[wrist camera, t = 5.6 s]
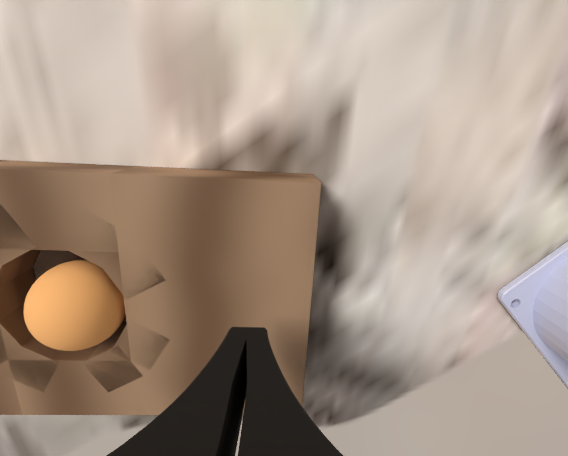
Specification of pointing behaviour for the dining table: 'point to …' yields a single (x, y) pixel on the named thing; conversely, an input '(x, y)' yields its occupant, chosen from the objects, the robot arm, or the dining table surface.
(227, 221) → the board
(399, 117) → the dining table surface
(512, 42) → the dining table surface
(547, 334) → the robot arm
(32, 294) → the ball
